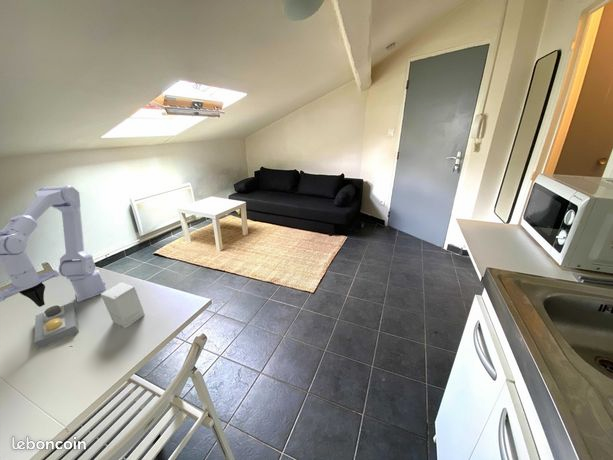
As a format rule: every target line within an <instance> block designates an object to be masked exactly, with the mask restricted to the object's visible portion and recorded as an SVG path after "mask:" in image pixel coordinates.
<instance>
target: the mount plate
mask: <svg viewBox="0 0 613 460" xmlns="http://www.w3.org/2000/svg"><path fill="white" fill-rule="evenodd" d="M59 306H60V305H59ZM60 308H61V312H60V313H58V314H57V315H54V316H51V317H47V316H46V314H45V313H44V312H41V313H38V314H37V315H35V318H34V320H35V322H34V336H33V337H34V338H33V339H34V340H33V343H34V345H35V346H36V348H37V349H38V350H40V349H42V348H45V347H47V346H50V345H53V344H54V343H57V342H59V341H61V340H62V341H63V339H66V338H68V337H71V336H73V335H75V334H78V333H79V326H78V325H79V324H78V318H77V311H76V307H75V305H74V304H73V302H72V301H71V302H70V303H69V302H68V303H66V304H63V305H61V306H60ZM55 318H60V319H61V321H62V325H61V326H60V327H58V328H56V329H54V330H50V331H48V330H46V328H45V326H44V325H45V323H47V322H48V321H50V320H52V319H55Z"/></svg>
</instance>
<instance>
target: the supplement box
mask: <svg viewBox="0 0 613 460" xmlns="http://www.w3.org/2000/svg"><path fill="white" fill-rule="evenodd" d="M106 290H107V291H105V292H103V293H102V294H100V296H101V298H102V300H103V301H102V302H104V306H105V307H106V310H107V311H108V313H109V316H110V318H111V320H112V323H114V324H116V325H119V326H120V327H122V328H125V329H126V328H128V327H130V326H131V325H132V324H134V323H135V322H136V321H138V320H139V319H141V318H142V317H144V316H145V315H146V314H145V311H144V308H143V306H142V304H141V301H140V298H139V296H138V293H137V289H136V288H135V286H134V285H130V284H127V283H125V282H123V281H122V282H118V283H117V284H115V285H114V286H112V287H110V288H108V289H106Z"/></svg>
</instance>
